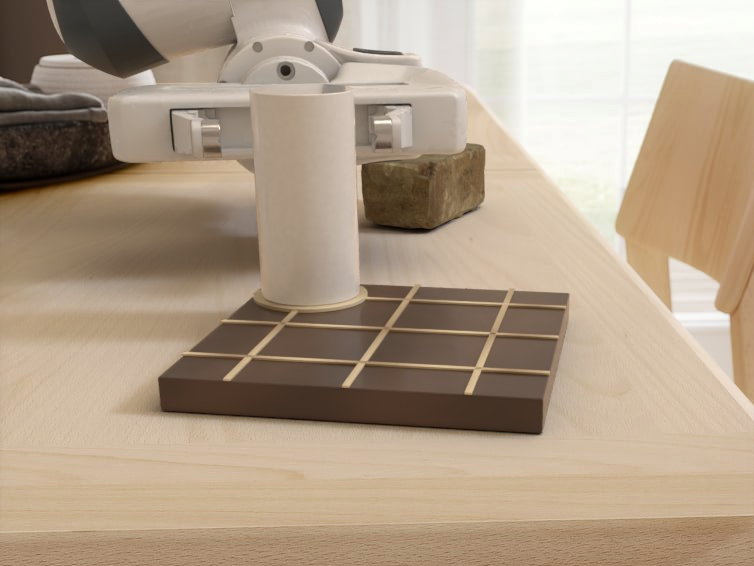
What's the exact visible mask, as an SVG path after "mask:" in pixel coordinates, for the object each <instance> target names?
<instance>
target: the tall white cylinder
mask: <svg viewBox="0 0 754 566" xmlns="http://www.w3.org/2000/svg"><path fill="white" fill-rule="evenodd" d="M249 101H250V117H251V132H252V148H253V164H254V173H253V176H254V177H253V178H254V192H255V193H254V195H255V208H256V209H255V211H256V225H257V241H258V258H259V274H260V275H259V276H260V288H261V291H262V296H263V297H264V298H265V299H266V300H268V301H271V302H274V303H278V304H284V305H293V306H320V305H329V304H336V303H340V302H344V301H347V300H350V299H353V298H355V297H356V296H358V295H359V293H360V284H361V274H360V273H361V271H360V270H361V269H360V268H361V267H360V238H359V237H360V236H359V234H360V233H359V206H358V200H359V199H358V170H357V166H358V165H357V166H356V132H355V98H354V89H353V88H351V87H348V86H342V85H330V84H283V85H269V86H260V87H255V88H252V89H250V90H249Z"/></svg>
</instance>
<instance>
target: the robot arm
mask: <svg viewBox="0 0 754 566" xmlns="http://www.w3.org/2000/svg"><path fill="white" fill-rule="evenodd" d="M45 1H46V4H47V9H48V11H49V15H50V18H51V21H52V23H53V26H54V28H55V30H56V33H57V34H58V35H59V38H60V39H61V41H62V42H63V44H64V45H65V48H66V50H67V52H68V53H69V54H70V55H71V56H73V57H75V58H76V59H77V60H79V61H80V62H83V63H84V64H86V65H88V66H89V67H92V68H94V69H96V70H97V71H100V72H103V73H105V74H108V75H109V76H113V77H116V78H120V79H123V80H124V79H127V78H130V77H134V76H135V75H139V74H141V73H144V72H147V71H150V70H153V69H156V68H158V67H160V66H163V65H166V64H169V63H170V62H171V60H175V59H179V58H182V57H187V56H191V55H194V54H198V53H203V52H206V51H210V50H214V49H218V48H222V47H226V46H229V47H228V49H227V51H226V52H225V53H224V55H223V57H222V59H221V61H220V64H219V65H218V69H217V73H216V77H215V82H203V83H201V82H200V83H198V82H197V83H158V84H147V85H146V84H145V85H139V86H132V87H127V88H125V89H124V88H123V89H122V90H118V91H117V92H115V93H113V94H112V95H110V96H109V98H108V99H107V119H108V130H109V139H110V147H111V151H112V156H113V157H114V158H115V160H118V161H120V162H123V163H129V164H130V163H132V164H144V163H145V164H146V163H147V164H148V163H180V162H184V163H185V162H214V161H215V162H216V161H236V162H237V163H239V165H241V166H242V167H243V168H244V169H245V170H247V171H249V172H250V173H252V174H254V164H253V148H252V132H251V117H250V101H249V90H250V89H252V88H255V87H260V86H269V85H283V84H330V85H342V86H348V87H351V88H353V89H354V98H355V132H356V166H362V165H367V164H373V163H381V162H392V161H402V160H406V159H416V158H419V157H420V156H421V155H427V154H445V155H450V154H457V153H461V152H462V151H463V150H464V149H465V147H466V143H467V141H468V140H467V139H468V100H467V93H466V90H465V88H463V86H462V85H461V84H460V83H458V82H457V81H455V80H454V79H453V78H451V77H450V76H448V75H446V74H444V73H442V72H440V71H438V70H437V69H436V70H435V69H432V68H428V67H423V60H422V57H421V56H420V55H418V54H416V53H412V52H403V51H397V50H395V51H394V50H377V49H366V48H360V47H353V48H352V47H348V46H342V45H340V44H336V43H334V42H335V39H336V38H337V35H338V33H339V31H340V28H341V25H342V21H343V18H344V3H343V0H45Z"/></svg>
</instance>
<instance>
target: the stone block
mask: <svg viewBox="0 0 754 566" xmlns="http://www.w3.org/2000/svg"><path fill="white" fill-rule="evenodd" d="M486 151H487V150H486V148H485V146H484V145H482V144H478V143H473V142H472V143H471V142H466V147H465V149H464V150H463V151H462V152H461V153H457V154H450V155H445V154H427V155H421V156H420V157H419V158H416V159H406V160H402V161H392V162H381V163H373V164H367V165H361V168H360V178H361V179H360V180H361V194H362V201H363V209H364V217H365V219H366V220H367V221H369V222H371V223H374V224H376V225H382V226H389V227H390V226H391V227H397V228H403V229H408V230H409V229H428V230H430V229H434V228H437V227H439V226H441V225H443V224H445V223H447V222H449V221H452V220H454V219H456V218H457V219H458V218H460V217H463V215H464V214H466V213H468V212H470V211H474V210H476V208H477V207H479V206H480V205H481V204H482V203H483V202H484V201H485V197H486V192H485V191H486V189H485V187H486V186H485V185H486V183H485V180H486V179H485V169H486V168H485V167H486Z"/></svg>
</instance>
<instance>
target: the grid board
mask: <svg viewBox="0 0 754 566" xmlns="http://www.w3.org/2000/svg"><path fill="white" fill-rule="evenodd" d="M421 285H422V284H421V283H420V284H419V283H414V285H412V286H411V285H391V284H365V283H360V293H359V295H358V296H356V297H355V298H353V299H350V300H347V301H344V302H340V303H336V304H329V305H320V306H293V305H284V304H278V303H274V302H271V301H268V300H266V299H265V298H264V297H263V296H262V291H261V287H260V288H259V289H257V290H255V292H253V295H252V297H251V298H249V300H247V301H246V302H245V303H244V304H243V305H242V306H240V307H239V308H238V309H237V310H236V311H234V312H233V313H232V314H231V315H230V316H228V317H227V318H225V319H221V320H220V324H219V325H218V326H217V327H215V328H214V329H213V330H212V331H211V332H209V333H208V334H207V335H206V336H205V337H203V338H202V340H200V341H199V342H198V343H197V344H196V345H194V346H193V347H192V348H190V349H189V350H188V351H184V352H182V353H181V356H182V357H180V358H179V359H178V360H177V361H175V362H174V363H173V364H172V365H171V366H170V367H168V368H167V369H166V370H165V371H164V372H163V373H161V374H160V375H159V376H158V377H157V383H158V392H159V403H160V405H159V406H160V410H161V411H164V412H165V411H166V412H167V411H168V412H181V413H197V414H214V415H230V416H244V417H245V416H246V417H261V418H263V417H265V418H278V419H280V418H281V419H298V420H313V421H329V422H345V423H346V422H347V423H360V424H361V423H363V424H376V425H377V424H379V425H380V424H381V425H393V426H395V425H396V426H411V427H412V426H413V427H429V428H443V429H445V428H446V429H463V430H477V431H479V430H480V431H495V432H509V433H510V432H512V433H527V434H542V433H543V431H544V428H545V427H544V426H545V422H546V419H547V414H548V410H549V405H550V401H551V397H552V392H553V389H554V385H555V380H556V376H557V370H558V367H559V362H560V359H561V355H562V349H563V346H564V340H565V336H566V332H567V328H568V324H569V319H570V318H569V317H570V293H569V292H556V291H555V292H553V291H533V290H532V291H529V290H528V291H527V290H516V288H513V287H509V288H508V290H507V289H484V288H483V289H481V288H460V287H439V286H438V287H435V286H421Z"/></svg>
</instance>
